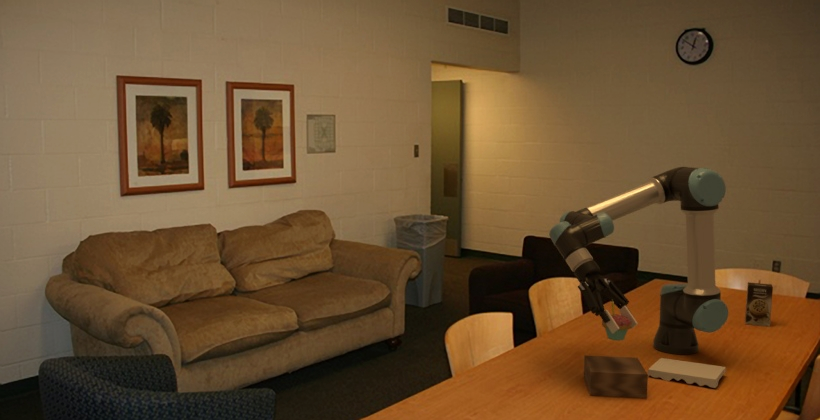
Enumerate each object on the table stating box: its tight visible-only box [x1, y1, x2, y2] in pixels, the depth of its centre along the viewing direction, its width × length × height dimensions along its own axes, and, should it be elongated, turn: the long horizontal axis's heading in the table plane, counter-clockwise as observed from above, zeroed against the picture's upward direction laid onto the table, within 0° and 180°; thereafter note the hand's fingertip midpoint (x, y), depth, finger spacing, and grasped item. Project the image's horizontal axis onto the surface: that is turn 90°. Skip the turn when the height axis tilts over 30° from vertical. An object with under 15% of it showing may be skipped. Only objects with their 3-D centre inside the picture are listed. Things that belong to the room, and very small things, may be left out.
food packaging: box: [647, 357, 726, 389], centre depth 236 cm, size 15×3×20 cm
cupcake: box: [601, 300, 632, 341], centre depth 223 cm, size 9×8×12 cm
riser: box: [583, 355, 649, 399], centre depth 225 cm, size 16×16×7 cm
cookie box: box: [744, 282, 774, 327], centre depth 300 cm, size 9×6×16 cm
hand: (625, 328), depth 221 cm, fingers closed on cupcake, 8 cm apart
